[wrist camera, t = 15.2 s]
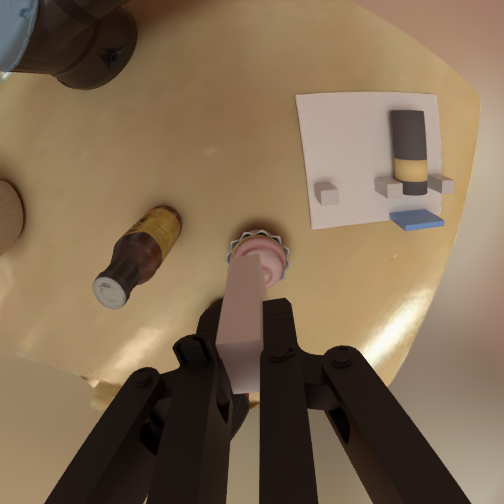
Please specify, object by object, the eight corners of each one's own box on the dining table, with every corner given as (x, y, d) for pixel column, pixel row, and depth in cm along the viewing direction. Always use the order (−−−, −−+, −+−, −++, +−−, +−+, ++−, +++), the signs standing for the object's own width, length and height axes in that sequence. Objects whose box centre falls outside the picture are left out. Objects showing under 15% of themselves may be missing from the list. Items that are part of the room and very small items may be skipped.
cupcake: (292, 223, 45) (301, 249, 35) (282, 277, 48) (287, 312, 39) (231, 215, 44) (223, 239, 35) (225, 270, 48) (218, 304, 39)
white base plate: (294, 95, 37) (301, 90, 31) (433, 94, 35) (457, 93, 29) (311, 228, 45) (319, 245, 39) (438, 212, 43) (459, 226, 37)
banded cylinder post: (387, 110, 37) (393, 109, 32) (418, 111, 35) (428, 110, 31) (392, 187, 41) (398, 195, 37) (422, 187, 40) (431, 195, 35)
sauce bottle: (156, 197, 43) (93, 249, 25) (190, 218, 45) (146, 284, 26) (139, 230, 46) (77, 295, 27) (171, 250, 47) (124, 326, 29)
